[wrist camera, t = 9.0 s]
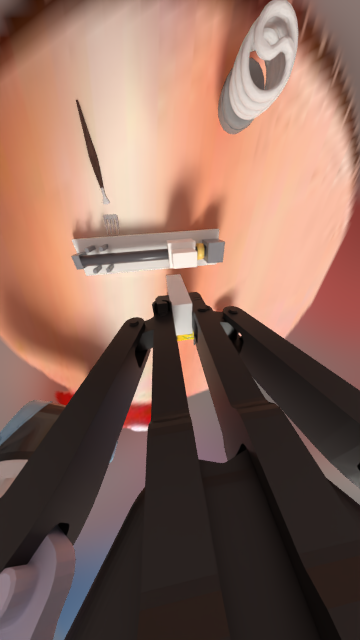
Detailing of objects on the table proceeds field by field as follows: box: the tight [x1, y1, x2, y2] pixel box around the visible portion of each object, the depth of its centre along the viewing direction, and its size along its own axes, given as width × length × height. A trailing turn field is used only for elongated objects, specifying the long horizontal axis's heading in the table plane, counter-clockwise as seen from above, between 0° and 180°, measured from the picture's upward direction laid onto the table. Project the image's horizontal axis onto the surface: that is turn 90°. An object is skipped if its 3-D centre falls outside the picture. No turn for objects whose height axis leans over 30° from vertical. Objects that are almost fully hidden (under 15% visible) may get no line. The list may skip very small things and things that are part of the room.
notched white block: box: [167, 238, 197, 269], centre depth 28 cm, size 5×4×8 cm
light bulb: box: [218, 0, 298, 134], centre depth 18 cm, size 6×6×12 cm
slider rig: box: [71, 229, 225, 276], centre depth 30 cm, size 29×7×6 cm, turn 93°
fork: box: [76, 100, 119, 235], centre depth 25 cm, size 3×16×2 cm, turn 5°
